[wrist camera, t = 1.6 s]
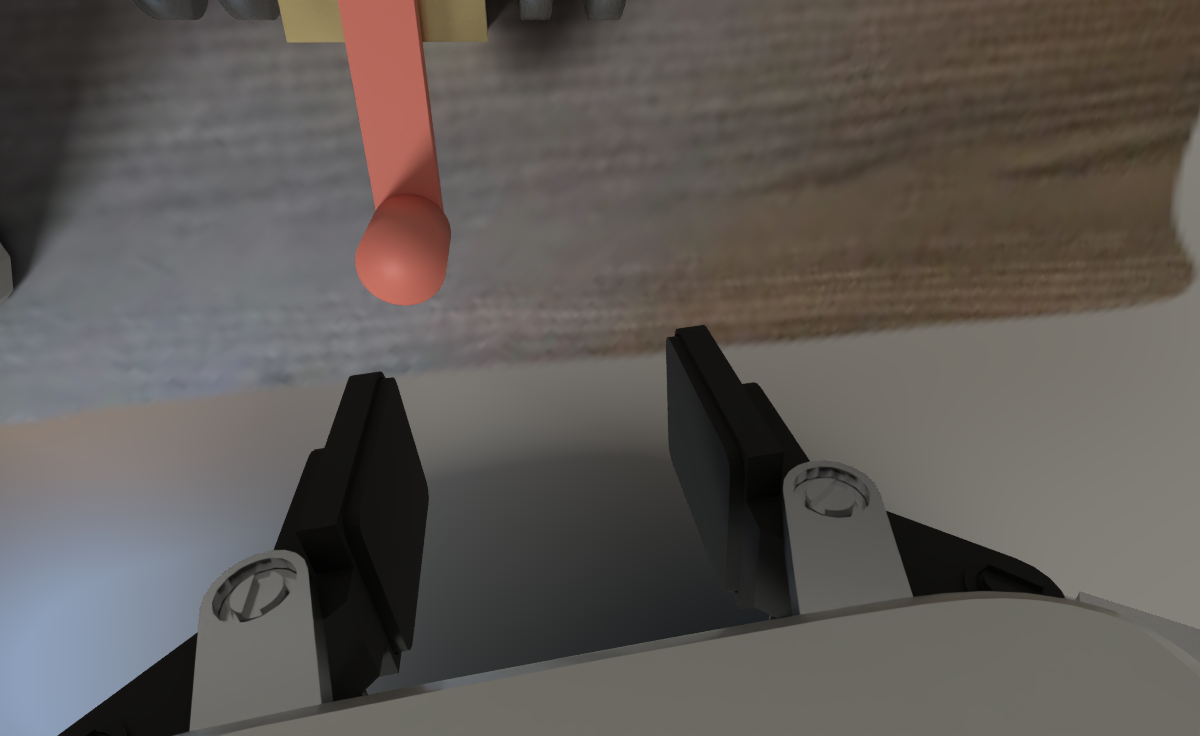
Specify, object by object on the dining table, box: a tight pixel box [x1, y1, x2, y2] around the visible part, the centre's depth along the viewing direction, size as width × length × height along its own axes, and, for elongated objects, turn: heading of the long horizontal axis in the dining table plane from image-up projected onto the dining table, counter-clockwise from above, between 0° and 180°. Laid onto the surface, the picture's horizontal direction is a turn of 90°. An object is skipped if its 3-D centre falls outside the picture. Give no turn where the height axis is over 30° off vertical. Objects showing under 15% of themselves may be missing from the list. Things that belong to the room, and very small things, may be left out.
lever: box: [338, 0, 451, 305], centre depth 21 cm, size 13×4×5 cm, turn 0°
